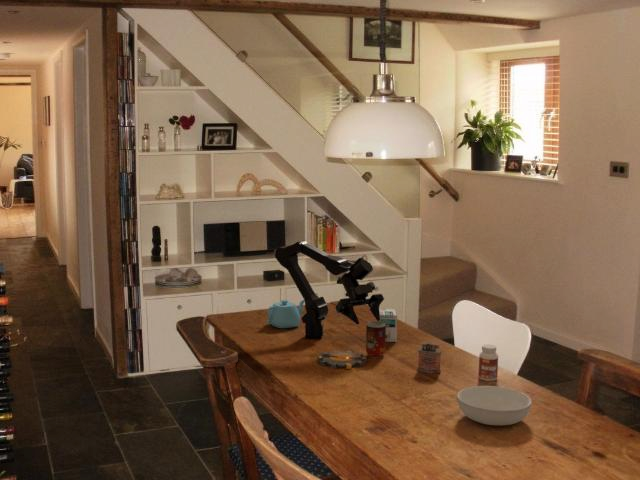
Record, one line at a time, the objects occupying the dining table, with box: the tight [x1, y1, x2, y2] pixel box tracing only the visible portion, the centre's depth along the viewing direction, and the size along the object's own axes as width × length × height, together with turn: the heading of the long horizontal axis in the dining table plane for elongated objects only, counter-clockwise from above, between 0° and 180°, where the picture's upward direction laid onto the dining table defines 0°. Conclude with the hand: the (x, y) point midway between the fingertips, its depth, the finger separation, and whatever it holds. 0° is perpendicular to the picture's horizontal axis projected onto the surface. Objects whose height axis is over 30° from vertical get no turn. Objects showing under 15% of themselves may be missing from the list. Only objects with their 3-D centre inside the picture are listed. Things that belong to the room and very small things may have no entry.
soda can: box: [365, 320, 387, 359], centre depth 295 cm, size 7×7×12 cm
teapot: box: [266, 299, 305, 329], centre depth 337 cm, size 13×11×18 cm
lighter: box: [417, 341, 442, 375], centre depth 278 cm, size 8×3×10 cm, turn 62°
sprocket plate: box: [317, 350, 367, 370], centre depth 289 cm, size 17×17×2 cm
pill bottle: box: [477, 344, 499, 382], centre depth 271 cm, size 6×6×11 cm
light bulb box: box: [379, 308, 398, 343], centre depth 318 cm, size 11×7×11 cm, turn 179°
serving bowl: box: [456, 385, 533, 427], centre depth 235 cm, size 21×21×7 cm
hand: (368, 322), depth 299 cm, fingers open, 9 cm apart
